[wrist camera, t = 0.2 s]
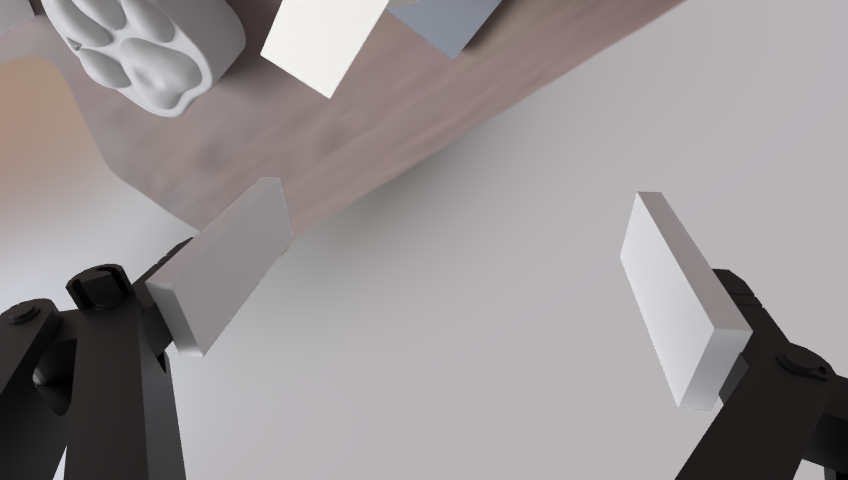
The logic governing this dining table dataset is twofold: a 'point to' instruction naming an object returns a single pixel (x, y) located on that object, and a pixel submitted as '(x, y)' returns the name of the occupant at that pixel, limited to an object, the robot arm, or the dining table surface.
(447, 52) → the post plinth
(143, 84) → the lumpy-topped squat cylinder
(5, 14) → the medicine bottle
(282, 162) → the dining table surface
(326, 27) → the white round-based slab
